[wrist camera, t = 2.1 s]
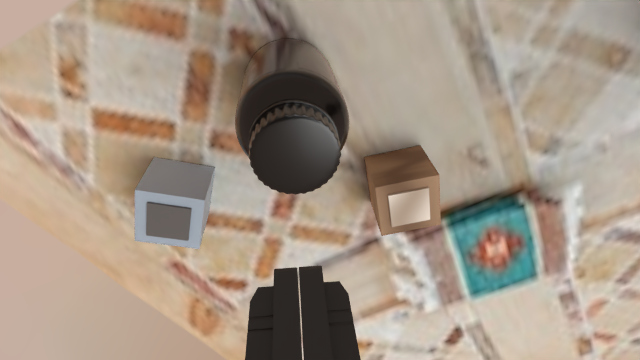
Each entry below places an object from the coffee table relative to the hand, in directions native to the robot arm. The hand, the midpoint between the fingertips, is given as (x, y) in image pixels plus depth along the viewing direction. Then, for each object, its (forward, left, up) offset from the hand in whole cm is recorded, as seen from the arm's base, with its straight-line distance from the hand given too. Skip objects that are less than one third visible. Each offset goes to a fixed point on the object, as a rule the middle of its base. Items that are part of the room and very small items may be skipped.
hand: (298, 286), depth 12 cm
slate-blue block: (+10, +9, -21) cm, 25 cm away
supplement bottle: (0, 0, -21) cm, 21 cm away
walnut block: (-9, +9, -21) cm, 24 cm away
